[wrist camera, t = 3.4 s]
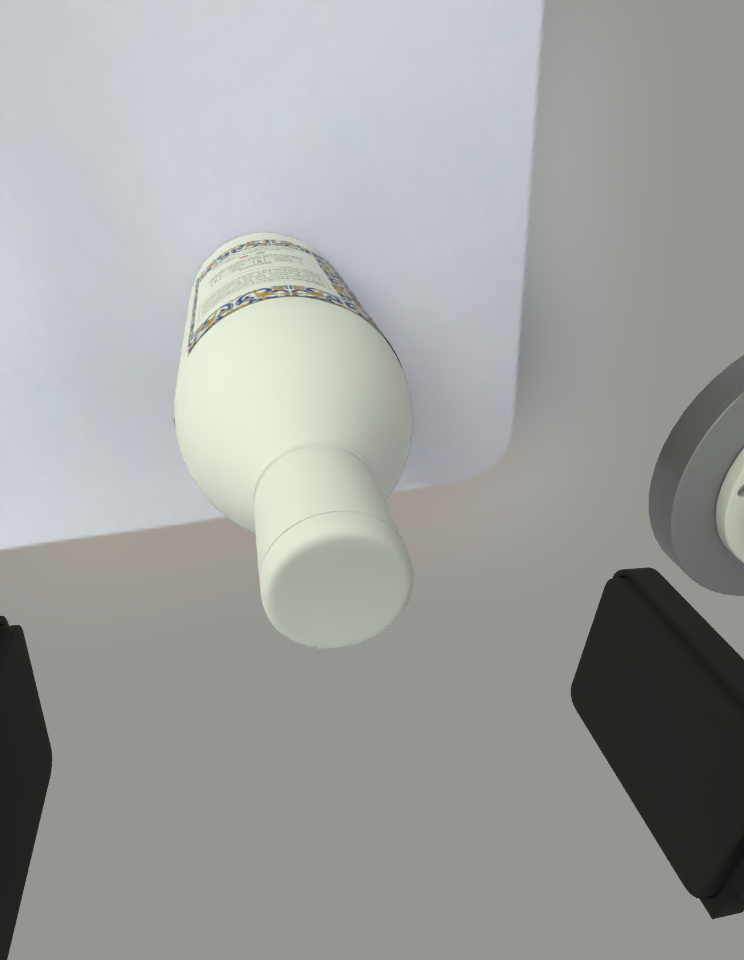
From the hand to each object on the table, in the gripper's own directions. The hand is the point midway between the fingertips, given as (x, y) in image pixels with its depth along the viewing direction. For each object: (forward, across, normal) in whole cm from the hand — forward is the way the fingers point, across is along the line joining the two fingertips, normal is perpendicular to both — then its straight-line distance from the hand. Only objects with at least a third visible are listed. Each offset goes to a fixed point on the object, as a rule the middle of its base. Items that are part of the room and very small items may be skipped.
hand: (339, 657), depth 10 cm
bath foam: (+22, -1, 0) cm, 22 cm away
